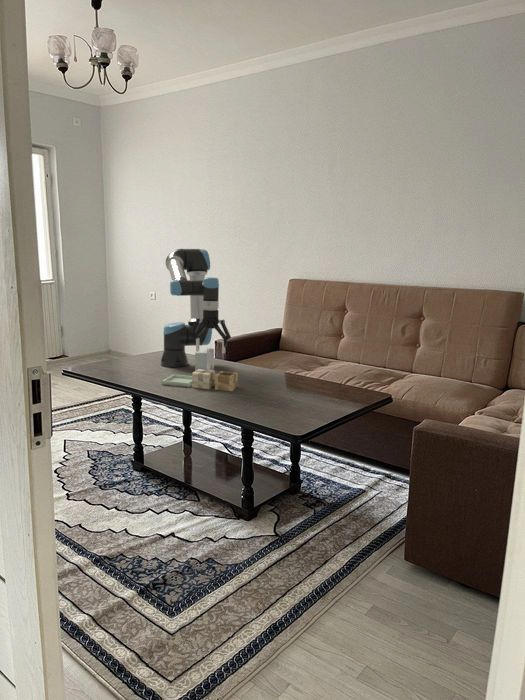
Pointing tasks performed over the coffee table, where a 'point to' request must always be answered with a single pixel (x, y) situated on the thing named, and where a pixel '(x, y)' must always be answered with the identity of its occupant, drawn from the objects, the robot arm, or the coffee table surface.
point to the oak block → (226, 381)
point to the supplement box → (201, 360)
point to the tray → (178, 381)
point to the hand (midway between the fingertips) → (210, 352)
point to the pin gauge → (210, 359)
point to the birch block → (203, 379)
